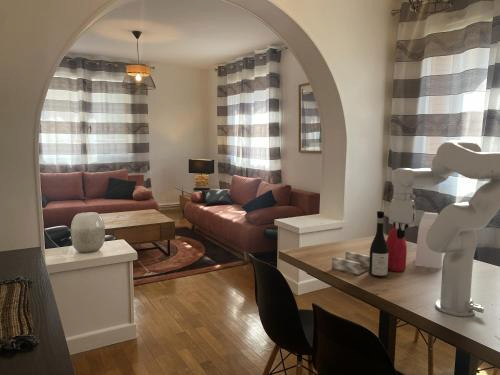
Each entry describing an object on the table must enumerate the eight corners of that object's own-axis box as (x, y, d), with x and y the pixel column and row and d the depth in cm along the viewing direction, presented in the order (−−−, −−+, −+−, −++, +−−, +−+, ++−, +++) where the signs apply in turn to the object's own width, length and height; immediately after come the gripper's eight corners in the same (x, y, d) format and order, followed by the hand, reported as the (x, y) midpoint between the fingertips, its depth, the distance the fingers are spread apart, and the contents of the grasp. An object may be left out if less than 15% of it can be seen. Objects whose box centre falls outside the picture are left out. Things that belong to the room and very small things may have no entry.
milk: (441, 262, 192) (444, 212, 189) (441, 268, 182) (444, 216, 179) (416, 258, 197) (418, 210, 194) (414, 265, 187) (417, 214, 184)
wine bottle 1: (389, 278, 169) (392, 213, 165) (372, 278, 169) (374, 213, 165) (383, 272, 176) (386, 209, 173) (366, 272, 177) (369, 209, 173)
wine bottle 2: (407, 273, 176) (410, 210, 172) (385, 271, 178) (388, 209, 174) (403, 266, 185) (406, 206, 182) (382, 265, 187) (384, 206, 184)
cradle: (372, 268, 182) (373, 256, 181) (358, 276, 171) (358, 263, 171) (346, 262, 191) (347, 251, 191) (331, 269, 181) (332, 257, 180)
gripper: (423, 197, 159) (421, 239, 162) (389, 194, 170) (387, 233, 172) (417, 199, 154) (414, 243, 156) (382, 196, 164) (380, 236, 166)
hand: (400, 238), depth 164 cm, fingers closed
